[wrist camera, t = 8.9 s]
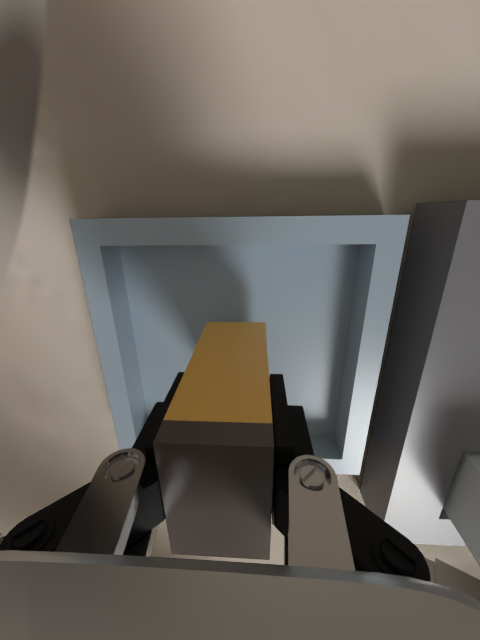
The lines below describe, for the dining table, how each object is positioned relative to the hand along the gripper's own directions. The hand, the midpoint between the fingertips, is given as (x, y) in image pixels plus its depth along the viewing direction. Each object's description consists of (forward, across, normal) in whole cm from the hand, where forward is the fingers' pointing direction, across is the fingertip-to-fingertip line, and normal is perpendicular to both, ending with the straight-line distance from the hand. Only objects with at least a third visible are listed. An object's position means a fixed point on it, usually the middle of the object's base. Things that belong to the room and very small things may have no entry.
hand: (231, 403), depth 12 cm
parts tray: (+6, 0, 0) cm, 6 cm away
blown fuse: (+3, 0, 0) cm, 4 cm away
